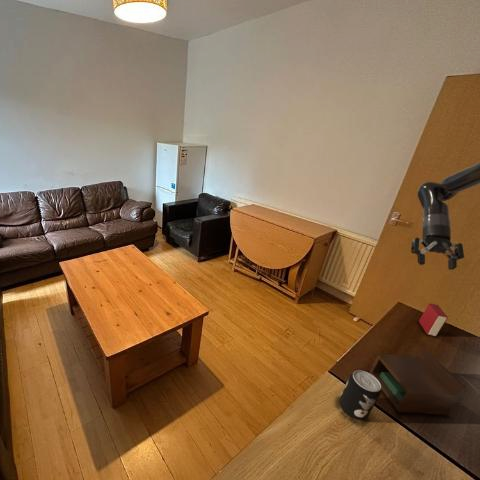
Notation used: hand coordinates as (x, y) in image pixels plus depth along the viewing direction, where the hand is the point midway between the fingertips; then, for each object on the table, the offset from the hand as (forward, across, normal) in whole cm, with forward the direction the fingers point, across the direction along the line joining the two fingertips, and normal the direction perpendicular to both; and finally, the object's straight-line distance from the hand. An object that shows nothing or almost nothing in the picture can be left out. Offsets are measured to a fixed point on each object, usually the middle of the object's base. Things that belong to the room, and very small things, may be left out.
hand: (436, 266), depth 96 cm
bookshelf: (+47, -17, -18) cm, 53 cm away
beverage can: (+55, -32, -26) cm, 69 cm away
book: (+23, 0, +6) cm, 24 cm away
